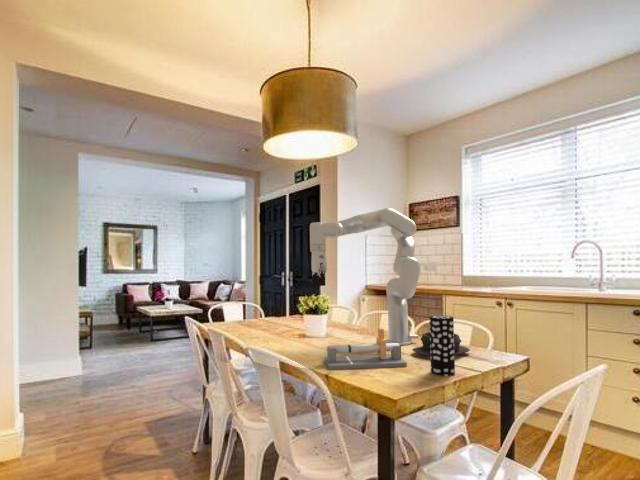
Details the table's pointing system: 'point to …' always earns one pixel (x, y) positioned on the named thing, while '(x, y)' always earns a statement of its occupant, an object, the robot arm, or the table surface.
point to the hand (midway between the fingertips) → (318, 285)
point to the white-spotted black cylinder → (442, 345)
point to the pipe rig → (363, 357)
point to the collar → (381, 343)
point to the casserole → (426, 345)
